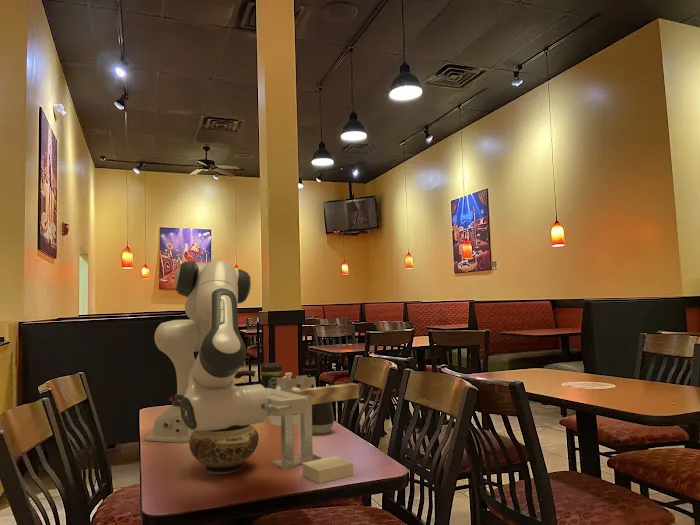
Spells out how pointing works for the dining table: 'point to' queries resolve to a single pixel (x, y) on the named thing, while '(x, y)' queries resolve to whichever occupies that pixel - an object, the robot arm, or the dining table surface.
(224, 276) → the robot arm
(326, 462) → the beige flat block
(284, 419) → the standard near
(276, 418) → the honey pot
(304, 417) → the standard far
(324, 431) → the black tapered rounded piece
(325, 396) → the rail
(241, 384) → the french press
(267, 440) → the dining table surface
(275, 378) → the coffee jar
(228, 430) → the ceramic bowl
